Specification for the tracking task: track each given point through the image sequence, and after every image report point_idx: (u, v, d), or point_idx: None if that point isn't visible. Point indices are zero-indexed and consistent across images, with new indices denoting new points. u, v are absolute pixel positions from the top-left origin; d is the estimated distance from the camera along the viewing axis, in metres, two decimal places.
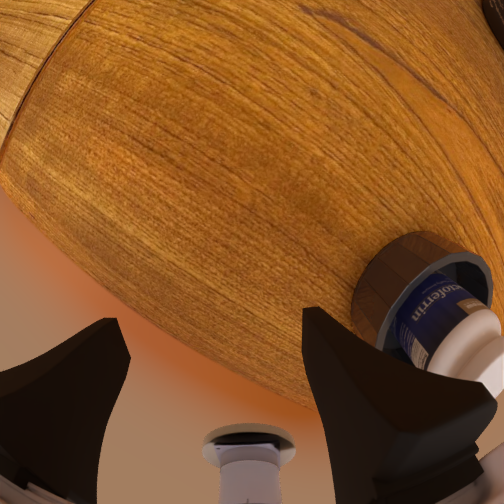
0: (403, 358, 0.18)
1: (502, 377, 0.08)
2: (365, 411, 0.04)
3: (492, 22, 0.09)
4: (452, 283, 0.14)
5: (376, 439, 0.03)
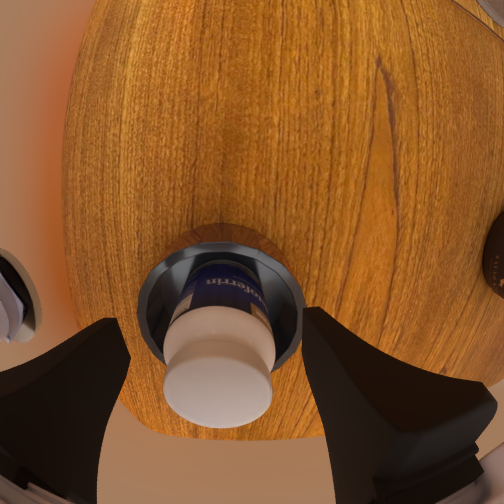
0: None
1: (232, 405, 0.11)
2: (366, 411, 0.04)
3: (497, 223, 0.19)
4: (263, 300, 0.16)
5: (376, 439, 0.03)
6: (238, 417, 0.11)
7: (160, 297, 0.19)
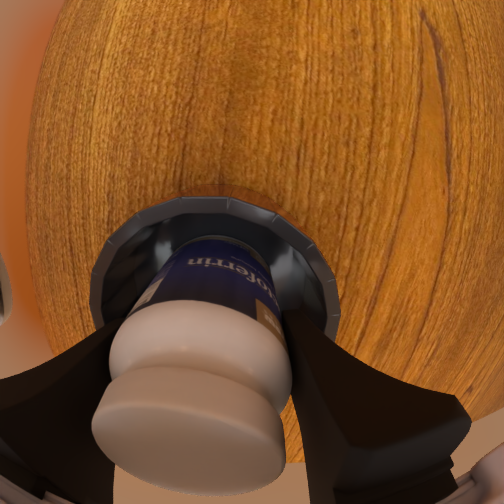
0: None
1: (212, 475, 0.05)
2: (327, 419, 0.04)
3: None
4: (275, 297, 0.11)
5: (334, 449, 0.03)
6: (222, 488, 0.05)
7: (132, 283, 0.14)
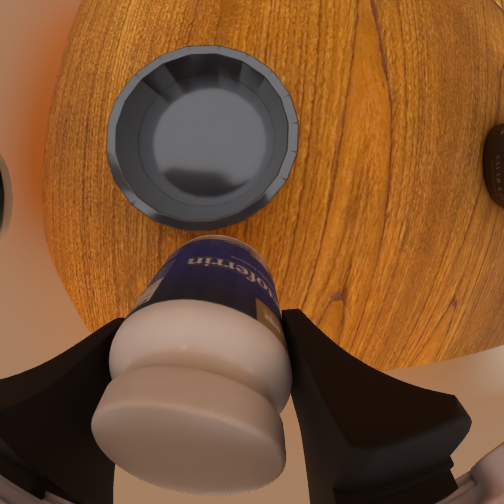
0: (139, 174, 0.16)
1: (212, 475, 0.05)
2: (327, 419, 0.04)
3: (492, 131, 0.17)
4: (275, 296, 0.11)
5: (334, 449, 0.03)
6: (222, 487, 0.05)
7: (136, 139, 0.16)
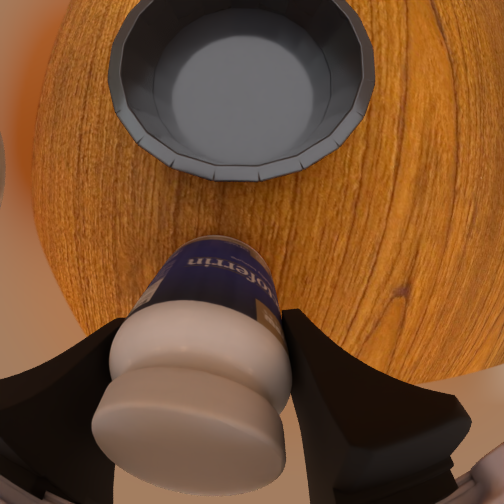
0: (152, 116, 0.11)
1: (212, 475, 0.05)
2: (327, 419, 0.04)
3: None
4: (275, 297, 0.11)
5: (334, 449, 0.03)
6: (222, 488, 0.05)
7: (151, 77, 0.11)
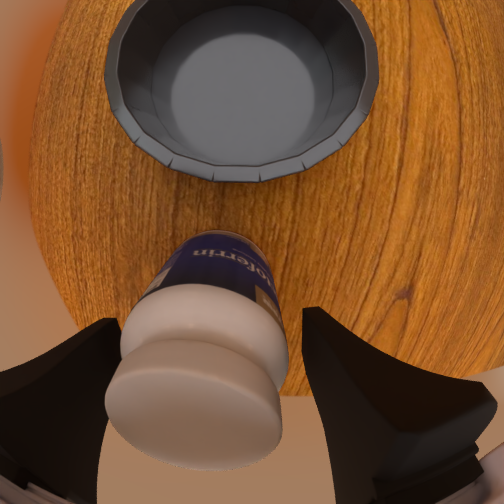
0: (150, 115, 0.11)
1: (215, 446, 0.06)
2: (366, 411, 0.04)
3: None
4: (273, 286, 0.12)
5: (376, 439, 0.03)
6: (224, 460, 0.06)
7: (149, 75, 0.11)
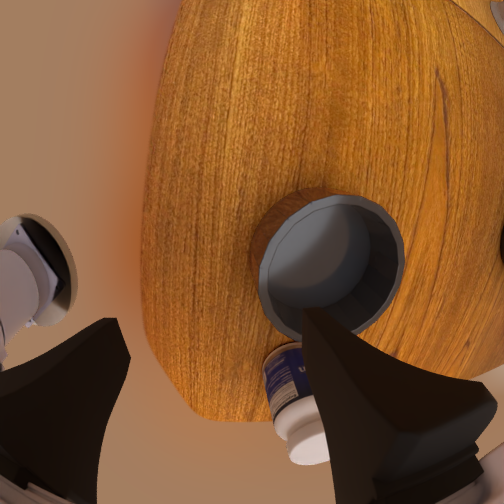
0: None
1: None
2: (366, 411, 0.04)
3: None
4: None
5: (376, 439, 0.03)
6: None
7: None
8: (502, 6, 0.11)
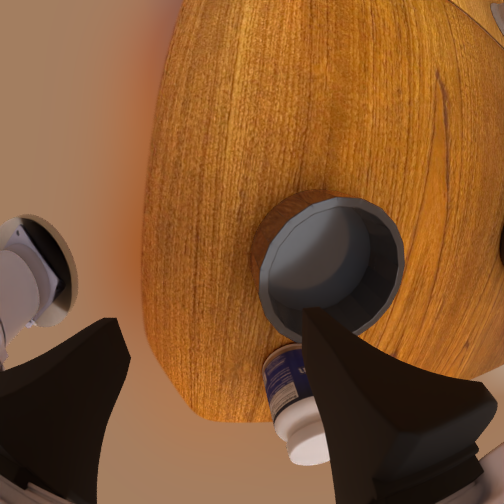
0: None
1: None
2: (365, 411, 0.04)
3: None
4: None
5: (376, 439, 0.03)
6: None
7: None
8: (503, 8, 0.11)
